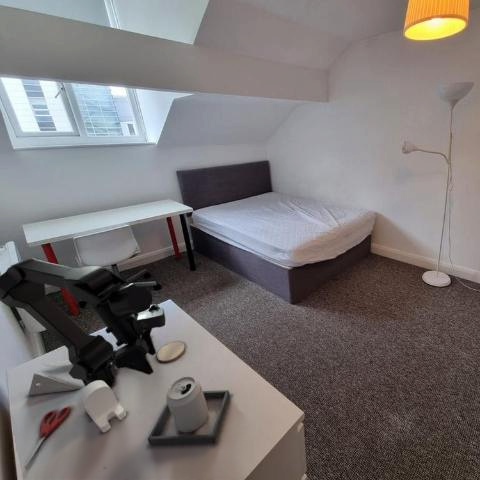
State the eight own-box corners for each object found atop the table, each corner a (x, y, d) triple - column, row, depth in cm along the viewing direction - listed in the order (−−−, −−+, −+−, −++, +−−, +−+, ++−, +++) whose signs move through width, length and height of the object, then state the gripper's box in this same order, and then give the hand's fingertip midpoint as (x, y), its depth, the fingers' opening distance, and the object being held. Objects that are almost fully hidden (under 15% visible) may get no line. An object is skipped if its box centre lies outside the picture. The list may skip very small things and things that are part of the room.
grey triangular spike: (93, 372, 82) (48, 367, 81) (82, 377, 77) (33, 373, 76) (89, 392, 81) (43, 388, 80) (76, 399, 76) (27, 395, 75)
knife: (129, 360, 85) (136, 349, 90) (127, 354, 85) (134, 343, 89) (38, 375, 82) (50, 362, 86) (34, 369, 81) (46, 356, 85)
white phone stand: (109, 396, 74) (96, 370, 70) (127, 414, 69) (113, 388, 65) (87, 412, 70) (71, 386, 66) (103, 433, 65) (87, 406, 61)
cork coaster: (156, 365, 84) (155, 364, 83) (159, 347, 90) (158, 346, 90) (184, 356, 86) (183, 355, 86) (185, 340, 93) (184, 338, 93)
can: (197, 437, 64) (185, 404, 59) (170, 431, 65) (156, 398, 60) (214, 407, 70) (205, 375, 66) (189, 402, 72) (178, 370, 67)
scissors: (46, 411, 70) (48, 414, 70) (7, 471, 58) (10, 473, 58) (71, 405, 71) (72, 407, 72) (38, 461, 59) (40, 464, 60)
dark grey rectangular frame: (150, 445, 62) (147, 439, 61) (174, 398, 73) (172, 391, 72) (215, 443, 62) (213, 437, 61) (230, 396, 73) (228, 390, 72)
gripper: (149, 312, 60) (184, 363, 65) (154, 287, 76) (183, 330, 81) (93, 341, 56) (135, 393, 61) (112, 309, 72) (144, 352, 77)
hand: (153, 363), depth 70 cm, fingers open, 9 cm apart
